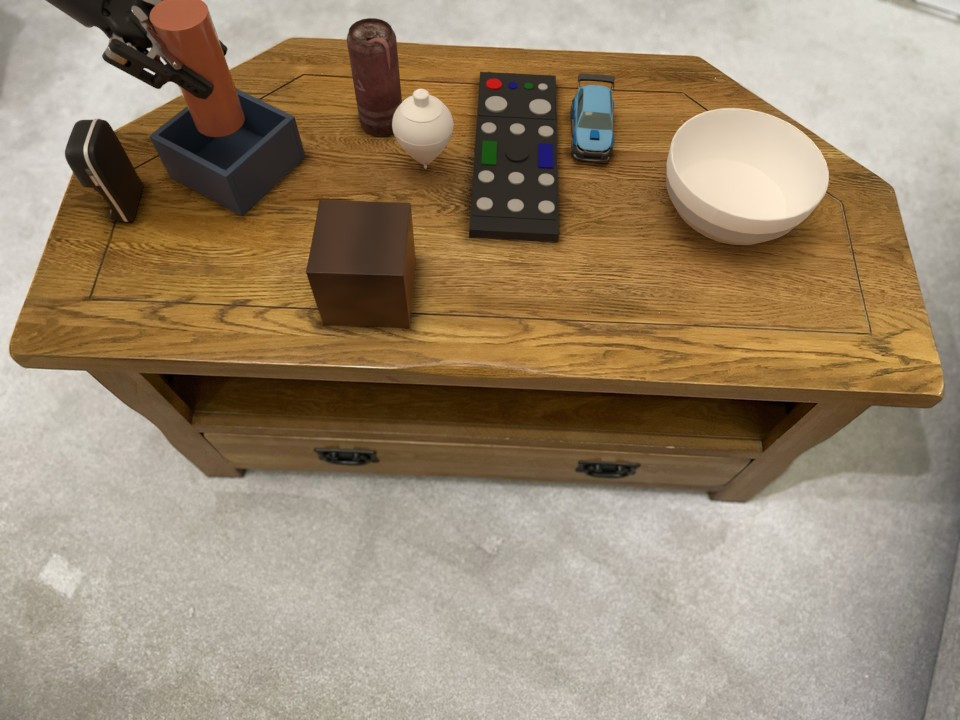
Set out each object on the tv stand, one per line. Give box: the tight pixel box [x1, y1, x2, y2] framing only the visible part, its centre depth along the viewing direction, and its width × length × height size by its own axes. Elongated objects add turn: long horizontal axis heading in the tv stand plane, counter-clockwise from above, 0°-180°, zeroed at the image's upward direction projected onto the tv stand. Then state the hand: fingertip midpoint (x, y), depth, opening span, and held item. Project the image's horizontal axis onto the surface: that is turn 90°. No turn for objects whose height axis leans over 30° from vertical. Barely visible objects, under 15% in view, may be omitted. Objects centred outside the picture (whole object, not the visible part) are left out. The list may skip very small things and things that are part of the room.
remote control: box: [468, 71, 560, 243], centre depth 90 cm, size 11×30×2 cm, turn 177°
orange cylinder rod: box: [149, 0, 245, 137], centre depth 76 cm, size 6×6×14 cm
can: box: [346, 17, 403, 137], centre depth 87 cm, size 6×6×14 cm
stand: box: [305, 199, 417, 329], centre depth 75 cm, size 10×10×10 cm
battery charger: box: [64, 118, 144, 223], centre depth 80 cm, size 7×4×11 cm, turn 3°
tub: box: [148, 87, 306, 217], centre depth 86 cm, size 13×13×7 cm
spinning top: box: [392, 88, 454, 170], centre depth 84 cm, size 8×8×12 cm
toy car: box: [569, 73, 616, 164], centre depth 91 cm, size 6×12×6 cm, turn 175°
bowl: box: [665, 107, 830, 246], centre depth 83 cm, size 19×19×9 cm
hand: (216, 73), depth 76 cm, fingers closed on orange cylinder rod, 6 cm apart
